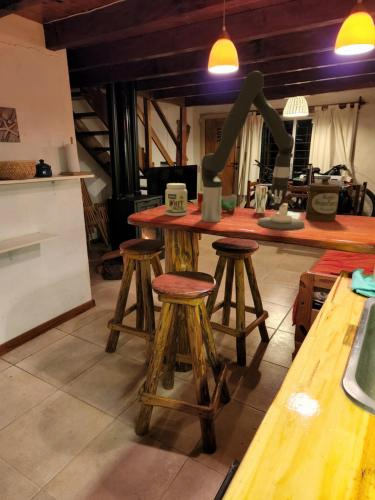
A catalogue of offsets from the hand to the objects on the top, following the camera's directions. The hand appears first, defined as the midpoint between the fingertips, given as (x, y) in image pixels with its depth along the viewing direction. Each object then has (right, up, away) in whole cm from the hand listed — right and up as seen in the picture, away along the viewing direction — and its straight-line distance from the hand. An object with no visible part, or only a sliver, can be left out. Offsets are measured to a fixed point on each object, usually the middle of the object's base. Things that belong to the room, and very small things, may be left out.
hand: (276, 210), depth 164 cm
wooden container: (+25, -4, +5) cm, 26 cm away
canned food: (-36, +3, +27) cm, 45 cm away
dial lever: (+1, -5, -5) cm, 7 cm away
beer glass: (-4, +1, +22) cm, 22 cm away
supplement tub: (-53, -1, +15) cm, 55 cm away
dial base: (0, -8, -8) cm, 11 cm away
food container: (-21, +1, +21) cm, 30 cm away
